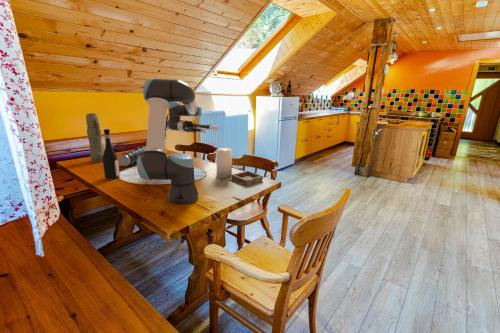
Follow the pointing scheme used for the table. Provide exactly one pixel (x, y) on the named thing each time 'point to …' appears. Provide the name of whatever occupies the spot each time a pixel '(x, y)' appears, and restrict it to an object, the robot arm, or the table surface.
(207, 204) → the table surface
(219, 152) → the ceramic canister
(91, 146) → the grey stone pillar
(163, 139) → the robot arm
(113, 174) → the wine bottle
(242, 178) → the coaster tray
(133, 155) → the muzzle brake
